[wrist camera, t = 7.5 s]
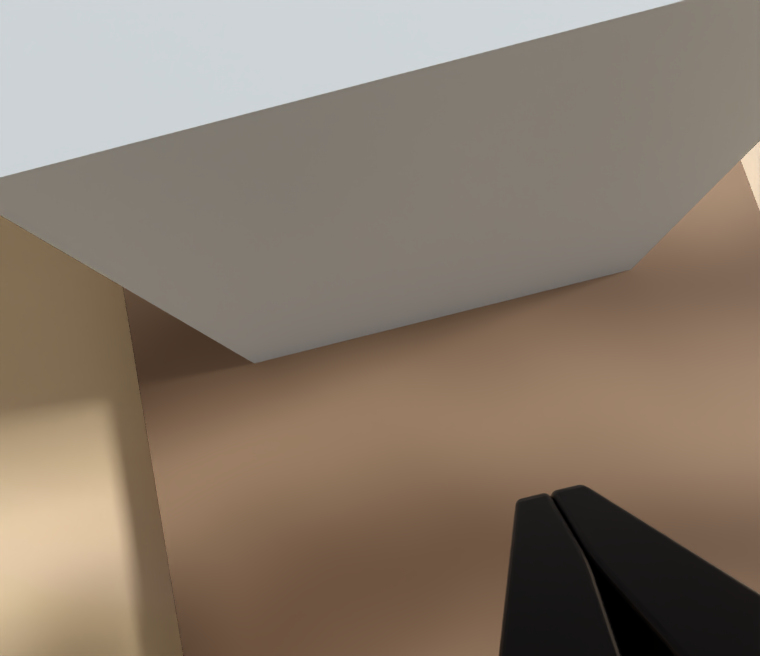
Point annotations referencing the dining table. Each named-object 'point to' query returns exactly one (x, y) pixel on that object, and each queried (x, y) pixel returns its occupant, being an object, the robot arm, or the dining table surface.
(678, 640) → the robot arm
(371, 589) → the podium board
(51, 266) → the dining table surface
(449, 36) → the carton
